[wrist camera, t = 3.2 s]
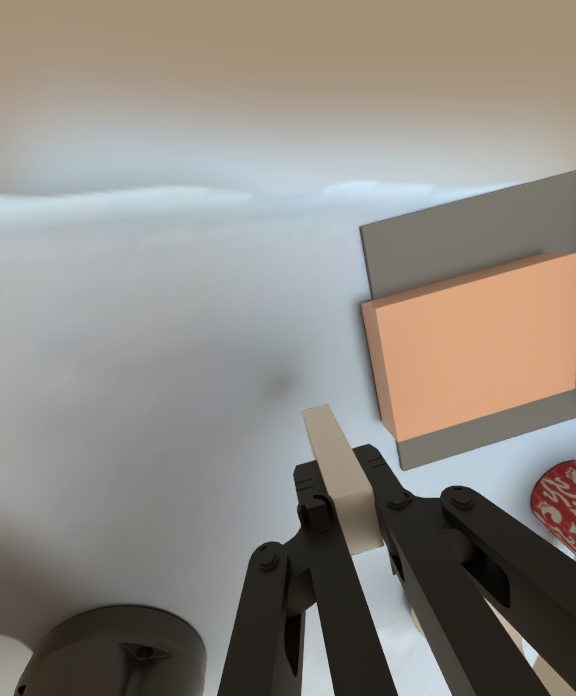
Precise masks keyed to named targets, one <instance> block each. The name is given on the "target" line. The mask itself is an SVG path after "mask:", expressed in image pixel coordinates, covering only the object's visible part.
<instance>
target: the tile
mask: <svg viewBox="0 0 576 696" xmlns="http://www.w3.org/2000/svg"><path fill="white" fill-rule="evenodd" d="M361 307H362V312H363V318H364V323H365V329H366V334H367V340H368V345H369V351H370V356H371V362H372V367H373V373H374V378H375V384H376V389H377V395H378V400H379V406H380V411H381V417H382V422H383V425H384V426H385V427H386V429H387V430H388V431H389V432H390V433H391V435H392V436H393V437H394V438H395V439H396V441H397V442H401V441H404V440H408V439H411V438H414V437H417V436H421V435H424V434H427V433H431V432H434V431H437V430H440V429H444V428H447V427H450V426H454V425H457V424H460V423H463V422H467V421H470V420H473V419H477V418H480V417H483V416H486V415H490V414H493V413H496V412H500V411H503V410H506V409H509V408H513V407H516V406H519V405H523V404H526V403H529V402H532V401H536V400H539V399H542V398H546V397H549V396H552V395H555V394H559V393H562V392H565V391H569V390H572V389H575V378H576V252H567V253H541V254H538V255H534V256H531V257H527V258H523V259H520V260H516V261H512V262H509V263H505V264H502V265H498V266H494V267H491V268H487V269H484V270H480V271H476V272H473V273H469V274H465V275H462V276H458V277H455V278H451V279H447V280H444V281H440V282H437V283H433V284H429V285H426V286H422V287H419V288H415V289H411V290H408V291H404V292H400V293H397V294H393V295H390V296H386V297H382V298H379V299H375V300H372V301H368V302H364V303H361Z"/></svg>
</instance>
